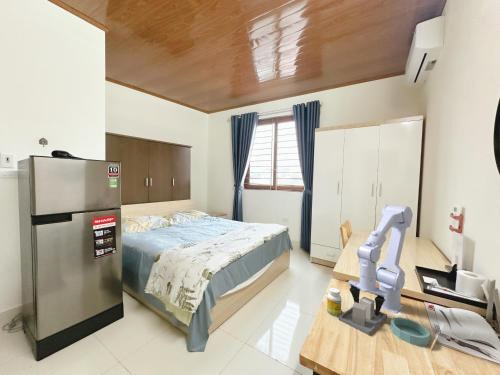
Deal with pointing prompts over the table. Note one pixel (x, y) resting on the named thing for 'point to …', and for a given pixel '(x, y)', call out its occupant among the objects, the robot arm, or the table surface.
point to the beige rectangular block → (368, 306)
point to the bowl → (410, 331)
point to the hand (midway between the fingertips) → (366, 310)
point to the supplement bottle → (334, 302)
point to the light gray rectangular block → (359, 314)
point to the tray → (369, 324)
